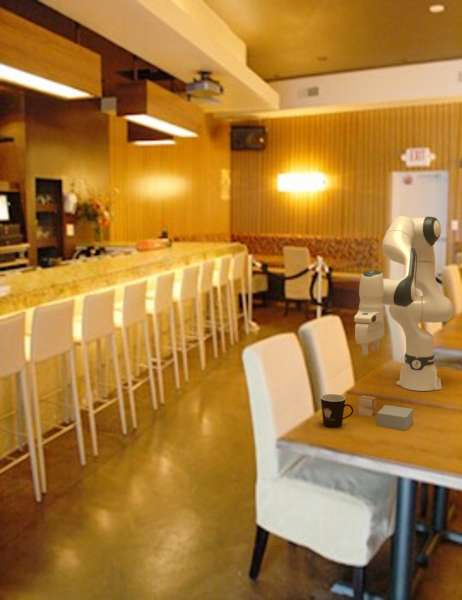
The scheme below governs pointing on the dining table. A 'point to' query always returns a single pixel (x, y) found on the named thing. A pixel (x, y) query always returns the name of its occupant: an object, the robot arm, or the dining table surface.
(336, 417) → the coffee mug
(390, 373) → the dining table surface
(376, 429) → the dining table surface
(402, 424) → the block
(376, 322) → the robot arm
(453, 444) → the dining table surface
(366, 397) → the oak cube
